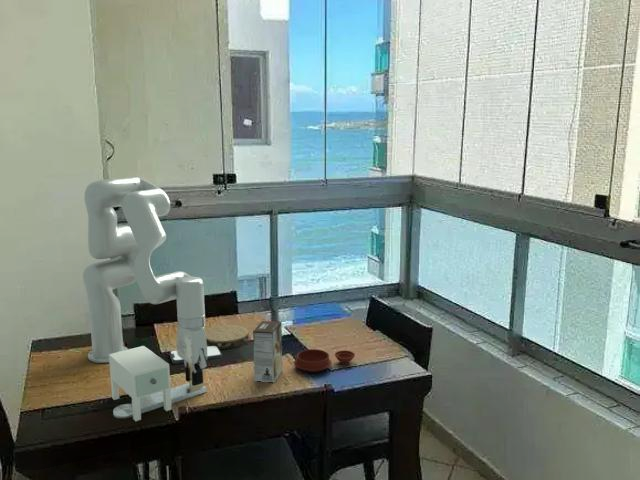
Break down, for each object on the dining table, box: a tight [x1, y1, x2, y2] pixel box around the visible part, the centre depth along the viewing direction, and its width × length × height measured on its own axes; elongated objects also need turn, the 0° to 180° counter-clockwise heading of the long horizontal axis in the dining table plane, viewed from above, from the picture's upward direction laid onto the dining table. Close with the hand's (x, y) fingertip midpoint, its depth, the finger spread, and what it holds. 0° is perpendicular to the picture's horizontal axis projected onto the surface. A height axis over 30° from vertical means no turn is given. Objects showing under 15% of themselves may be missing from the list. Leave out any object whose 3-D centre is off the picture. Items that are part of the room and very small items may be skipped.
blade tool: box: [140, 359, 207, 415], centre depth 163 cm, size 6×20×10 cm, turn 130°
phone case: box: [169, 346, 223, 365], centre depth 193 cm, size 9×2×16 cm
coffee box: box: [252, 320, 283, 384], centre depth 177 cm, size 9×6×16 cm
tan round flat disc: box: [205, 324, 249, 350], centre depth 207 cm, size 16×16×3 cm
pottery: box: [293, 348, 356, 373], centre depth 185 cm, size 12×20×4 cm, turn 112°
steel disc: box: [112, 403, 133, 420], centre depth 156 cm, size 6×6×1 cm
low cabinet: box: [108, 345, 173, 422], centre depth 159 cm, size 18×10×13 cm, turn 39°
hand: (194, 381), depth 168 cm, fingers closed on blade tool, 3 cm apart
